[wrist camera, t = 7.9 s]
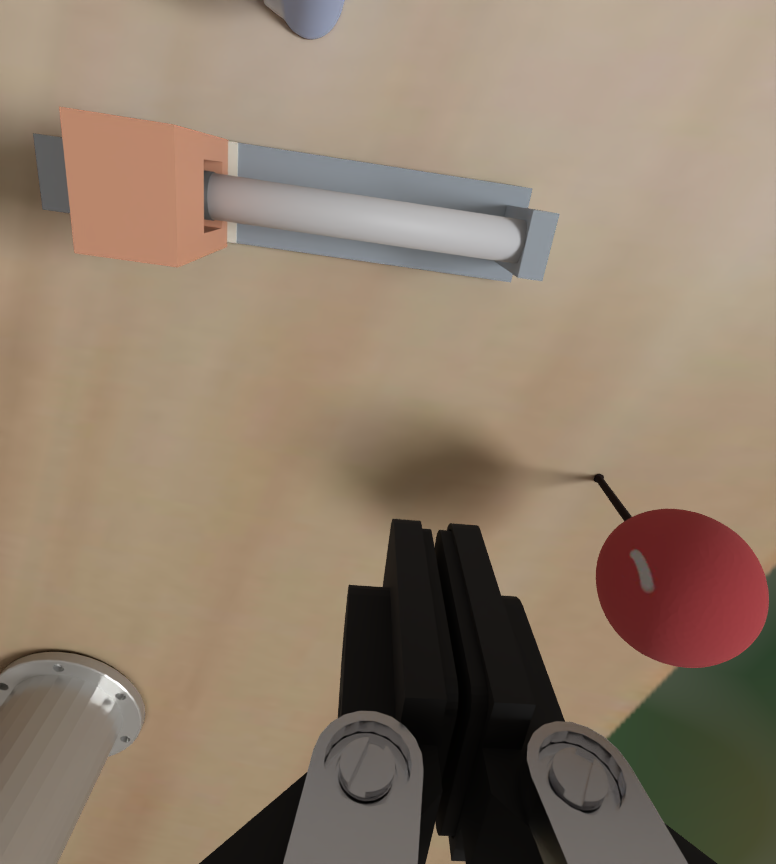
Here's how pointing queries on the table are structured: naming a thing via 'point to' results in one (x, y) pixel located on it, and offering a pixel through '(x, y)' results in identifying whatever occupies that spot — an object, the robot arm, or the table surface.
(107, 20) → the table surface
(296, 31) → the hippopotamus toy
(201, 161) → the collar
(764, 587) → the lollipop
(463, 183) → the rail
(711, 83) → the table surface
